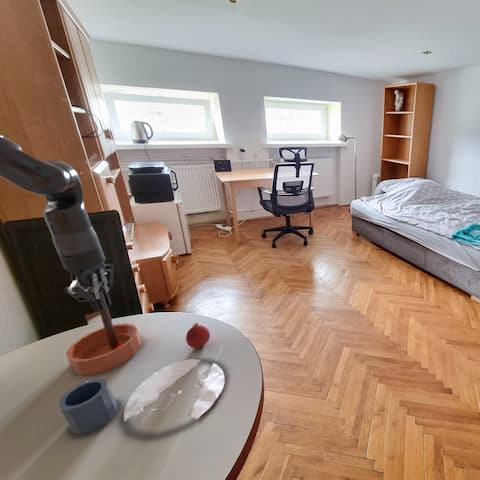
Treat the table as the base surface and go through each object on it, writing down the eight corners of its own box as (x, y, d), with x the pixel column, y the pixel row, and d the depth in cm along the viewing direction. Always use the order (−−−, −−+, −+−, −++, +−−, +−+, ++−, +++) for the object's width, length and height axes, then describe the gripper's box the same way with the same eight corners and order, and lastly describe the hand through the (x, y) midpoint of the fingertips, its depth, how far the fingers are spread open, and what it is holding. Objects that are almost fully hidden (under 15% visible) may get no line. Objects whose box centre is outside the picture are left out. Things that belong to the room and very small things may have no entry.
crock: (62, 438, 58) (47, 412, 55) (90, 405, 65) (78, 380, 62) (102, 433, 59) (89, 407, 56) (125, 401, 66) (115, 376, 63)
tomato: (117, 347, 76) (125, 353, 78) (124, 339, 79) (132, 346, 80) (109, 351, 77) (118, 357, 78) (117, 343, 80) (125, 350, 81)
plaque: (141, 373, 72) (140, 369, 72) (227, 354, 79) (226, 350, 78) (108, 453, 55) (105, 448, 54) (221, 419, 61) (220, 415, 61)
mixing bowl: (58, 379, 71) (49, 364, 70) (100, 339, 85) (94, 325, 83) (121, 373, 73) (114, 358, 71) (152, 335, 87) (147, 321, 85)
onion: (205, 354, 79) (199, 331, 76) (185, 354, 79) (177, 331, 76) (215, 340, 84) (210, 317, 81) (196, 340, 84) (190, 317, 81)
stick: (109, 349, 78) (91, 293, 72) (113, 345, 80) (97, 289, 74) (116, 349, 79) (99, 293, 72) (120, 345, 80) (104, 289, 74)
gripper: (84, 237, 74) (106, 294, 81) (35, 260, 62) (65, 326, 68) (115, 236, 75) (135, 293, 82) (73, 258, 62) (100, 323, 69)
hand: (103, 307), depth 75 cm, fingers closed on stick, 2 cm apart
